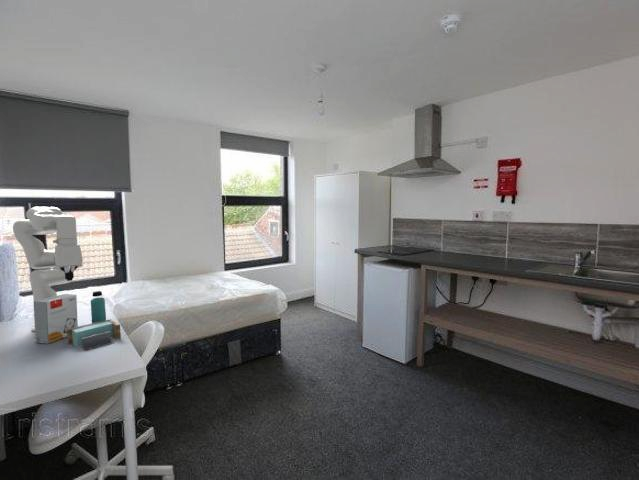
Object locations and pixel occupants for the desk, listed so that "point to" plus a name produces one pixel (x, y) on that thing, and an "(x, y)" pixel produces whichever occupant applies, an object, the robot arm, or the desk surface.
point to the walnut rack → (115, 325)
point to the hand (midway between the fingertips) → (69, 280)
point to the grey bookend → (96, 341)
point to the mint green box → (90, 331)
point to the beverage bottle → (98, 308)
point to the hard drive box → (54, 317)
